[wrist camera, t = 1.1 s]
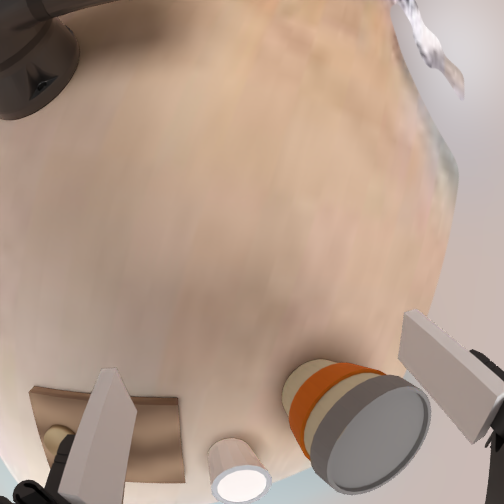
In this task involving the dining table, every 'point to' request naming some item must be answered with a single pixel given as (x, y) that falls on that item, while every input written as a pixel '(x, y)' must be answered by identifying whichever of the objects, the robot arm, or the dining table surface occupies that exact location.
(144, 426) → the lever stand
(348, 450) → the reusable coffee cup
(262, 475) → the white cylinder
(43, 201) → the dining table surface
